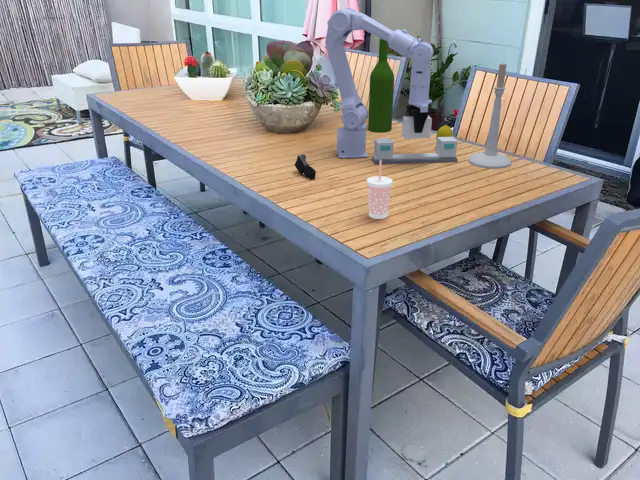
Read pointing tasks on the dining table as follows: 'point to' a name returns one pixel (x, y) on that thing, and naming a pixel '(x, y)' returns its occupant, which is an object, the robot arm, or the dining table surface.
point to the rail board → (443, 154)
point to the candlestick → (493, 132)
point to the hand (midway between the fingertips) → (416, 130)
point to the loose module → (409, 128)
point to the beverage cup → (379, 195)
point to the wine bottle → (381, 93)
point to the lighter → (304, 167)
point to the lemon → (444, 132)
